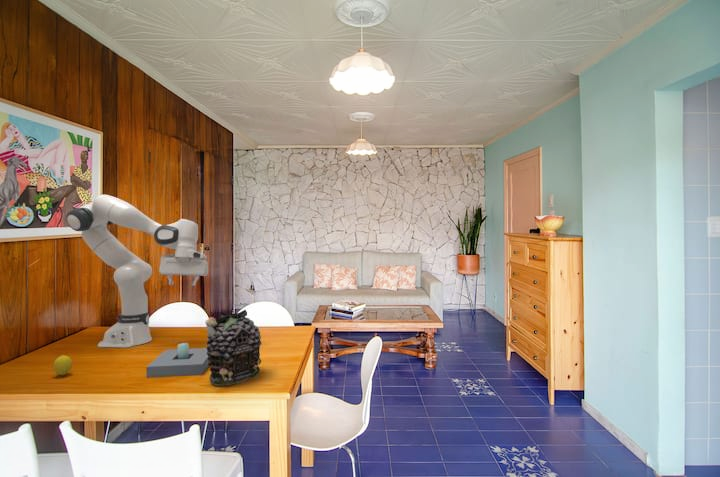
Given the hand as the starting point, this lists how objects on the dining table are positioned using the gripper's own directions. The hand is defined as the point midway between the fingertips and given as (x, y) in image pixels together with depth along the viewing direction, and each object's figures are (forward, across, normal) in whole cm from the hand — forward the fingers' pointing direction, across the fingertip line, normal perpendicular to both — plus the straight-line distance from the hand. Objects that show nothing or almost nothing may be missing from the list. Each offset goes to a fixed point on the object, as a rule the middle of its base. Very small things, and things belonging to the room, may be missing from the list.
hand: (182, 285), depth 170 cm
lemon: (+36, -34, -16) cm, 52 cm away
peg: (+33, +7, -11) cm, 35 cm away
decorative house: (+35, +31, -25) cm, 53 cm away
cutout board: (+33, +7, -11) cm, 35 cm away
